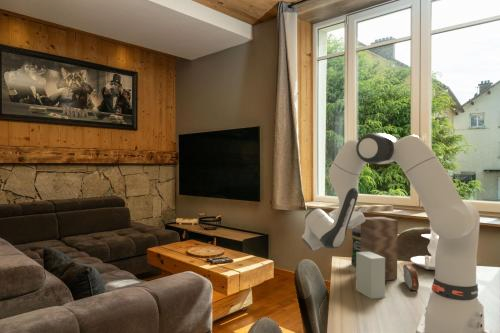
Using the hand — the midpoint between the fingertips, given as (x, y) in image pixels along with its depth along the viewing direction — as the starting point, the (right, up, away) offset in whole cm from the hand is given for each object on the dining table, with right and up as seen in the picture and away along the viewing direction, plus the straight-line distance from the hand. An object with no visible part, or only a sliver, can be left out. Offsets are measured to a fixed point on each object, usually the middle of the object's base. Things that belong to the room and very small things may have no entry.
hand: (360, 207), depth 153 cm
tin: (+18, -32, -10) cm, 38 cm away
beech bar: (+6, -2, +1) cm, 6 cm away
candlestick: (+40, -32, +15) cm, 53 cm away
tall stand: (+9, -31, +3) cm, 33 cm away
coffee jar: (+7, -31, +19) cm, 37 cm away
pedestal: (-2, -31, -18) cm, 36 cm away
